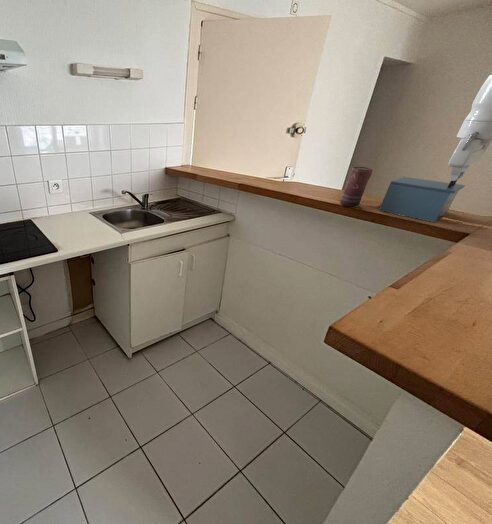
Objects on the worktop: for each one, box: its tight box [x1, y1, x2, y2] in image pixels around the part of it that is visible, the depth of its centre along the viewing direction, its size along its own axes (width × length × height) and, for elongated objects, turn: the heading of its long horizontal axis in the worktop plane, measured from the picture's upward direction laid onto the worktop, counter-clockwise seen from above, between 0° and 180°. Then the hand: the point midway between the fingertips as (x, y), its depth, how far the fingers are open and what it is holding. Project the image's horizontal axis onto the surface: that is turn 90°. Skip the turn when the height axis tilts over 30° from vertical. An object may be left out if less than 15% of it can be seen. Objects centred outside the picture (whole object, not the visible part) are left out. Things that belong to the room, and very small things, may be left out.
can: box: [339, 166, 373, 208], centre depth 106 cm, size 6×6×14 cm
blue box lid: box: [389, 172, 465, 194], centre depth 95 cm, size 16×13×5 cm
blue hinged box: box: [378, 183, 459, 223], centre depth 99 cm, size 16×13×10 cm
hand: (455, 178), depth 90 cm, fingers closed on blue box lid, 5 cm apart
